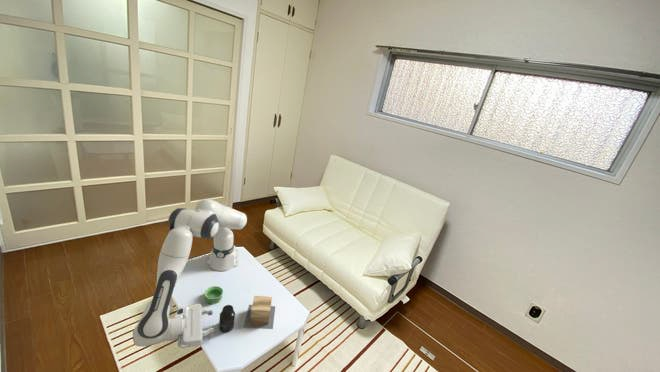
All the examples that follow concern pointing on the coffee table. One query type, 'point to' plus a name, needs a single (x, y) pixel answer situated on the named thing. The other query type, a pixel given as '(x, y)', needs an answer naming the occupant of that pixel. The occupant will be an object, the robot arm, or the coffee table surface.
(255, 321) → the tower base
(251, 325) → the mat
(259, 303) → the tower top
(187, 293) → the coffee table surface
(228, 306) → the supplement bottle
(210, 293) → the ramekin
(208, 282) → the coffee table surface
